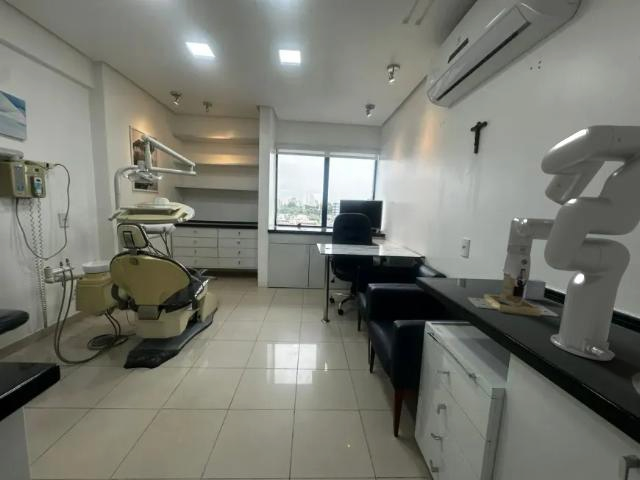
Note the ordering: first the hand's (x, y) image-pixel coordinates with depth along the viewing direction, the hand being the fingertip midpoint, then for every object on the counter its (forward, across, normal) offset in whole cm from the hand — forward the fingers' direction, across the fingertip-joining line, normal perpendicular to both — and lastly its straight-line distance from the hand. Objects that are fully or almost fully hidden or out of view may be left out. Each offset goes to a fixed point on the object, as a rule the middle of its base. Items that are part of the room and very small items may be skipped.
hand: (512, 293), depth 106 cm
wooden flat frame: (+6, 0, 0) cm, 6 cm away
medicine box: (+6, +18, -17) cm, 26 cm away
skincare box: (+5, 0, 0) cm, 5 cm away
